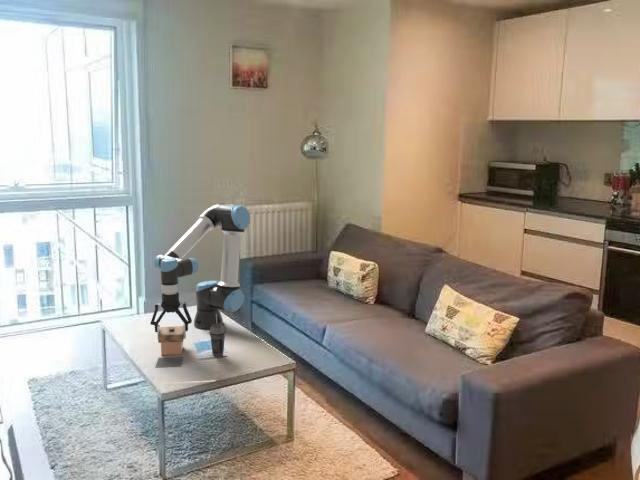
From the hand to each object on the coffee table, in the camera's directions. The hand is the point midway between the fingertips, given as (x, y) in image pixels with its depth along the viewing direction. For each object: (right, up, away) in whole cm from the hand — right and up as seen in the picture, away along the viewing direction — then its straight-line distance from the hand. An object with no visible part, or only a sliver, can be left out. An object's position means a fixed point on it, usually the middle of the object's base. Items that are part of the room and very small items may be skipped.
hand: (171, 338), depth 272 cm
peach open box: (0, -7, +1) cm, 7 cm away
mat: (+2, -9, -11) cm, 15 cm away
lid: (0, 0, 0) cm, 0 cm away
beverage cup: (+22, -8, -2) cm, 23 cm away
